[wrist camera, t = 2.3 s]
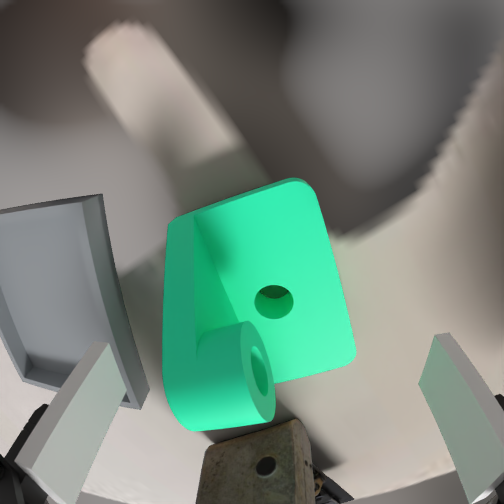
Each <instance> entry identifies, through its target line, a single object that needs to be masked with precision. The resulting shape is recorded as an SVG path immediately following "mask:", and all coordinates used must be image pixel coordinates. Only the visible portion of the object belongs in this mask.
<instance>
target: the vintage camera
mask: <svg viewBox="0 0 504 504" xmlns="http://www.w3.org/2000/svg"><path fill="white" fill-rule="evenodd" d="M351 500H354V498H353V497H352V496H351V495H349V494H348V493H347V492H346V491H345V490H344V489H342V488H341V487H340V486H339V485H338V484H337V483H335V482H334V481H333V480H332V479H330V478H329V477H327V476H326V475H325V474H324V473H323V472H322V471H321V470H320V469H318V468H317V467H316V466H315V465H314V464H312V459H311V445H310V442H309V439H308V436H307V433H306V430H305V427H304V426H303V424H302V423H301V422H300V421H299V420H298V419H294V420H291V421H288V422H285V423H282V424H279V425H276V426H273V427H270V428H267V429H264V430H261V431H258V432H254V433H251V434H248V435H244V436H241V437H238V438H234V439H231V440H228V441H224V442H220V443H217V444H213V445H210V446H209V447H208V448H207V450H206V451H205V455H204V460H203V464H202V469H201V475H200V482H199V487H198V492H197V498H196V504H341V503H344V502H348V501H351Z"/></svg>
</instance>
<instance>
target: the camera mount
mask: <svg viewBox="0 0 504 504" xmlns="http://www.w3.org/2000/svg"><path fill="white" fill-rule="evenodd" d="M269 285H279V286H282V287H284V288H286V289H287V290H289V292H288V293H287V294H286V295H285V296H283V297H280V298H276V299H273V298H268V297H265V296H264V295H262V294H261V293H260V291H259V290H261V289H262V288H264V287H266V286H269ZM355 356H356V347H355V342H354V337H353V333H352V328H351V324H350V319H349V315H348V311H347V307H346V302H345V298H344V294H343V290H342V286H341V282H340V278H339V274H338V271H337V267H336V263H335V259H334V256H333V252H332V248H331V245H330V241H329V237H328V234H327V230H326V227H325V223H324V220H323V217H322V213H321V210H320V207H319V203H318V200H317V197H316V194H315V192H314V191H313V189H312V188H311V187H310V185H309V184H308V183H307V182H306V181H304V180H302V179H299V178H287V179H284V180H281V181H278V182H275V183H272V184H269V185H266V186H263V187H260V188H257V189H254V190H251V191H248V192H245V193H242V194H239V195H236V196H234V197H231V198H228V199H225V200H222V201H219V202H217V203H214V204H211V205H208V206H205V207H203V208H200V209H197V210H195V211H192V212H189V213H186V214H184V215H181V216H179V217H176V218H175V219H174V220H173V221H171V222H170V223H169V224H168V230H167V243H166V257H165V274H164V295H163V327H162V376H163V385H164V390H165V394H166V398H167V401H168V403H169V406H170V408H171V410H172V412H173V414H174V416H175V417H176V419H177V420H178V421H179V422H180V424H181V425H183V426H184V427H185V428H186V429H188V430H190V431H205V430H215V429H224V428H232V427H239V426H246V425H253V424H259V423H265V422H270V421H272V420H273V418H274V415H275V408H276V397H275V386H274V384H276V383H281V382H285V381H289V380H294V379H298V378H302V377H306V376H310V375H314V374H318V373H321V372H325V371H329V370H332V369H336V368H339V367H343V366H345V365H347V364H349V363H350V362H352V360H353V359H354V358H355Z"/></svg>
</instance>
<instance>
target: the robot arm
mask: <svg viewBox="0 0 504 504" xmlns="http://www.w3.org/2000/svg"><path fill="white" fill-rule="evenodd" d="M419 386H420V388H421V390H422V392H423V394H424V396H425V398H426V401H427V403H428V405H429V407H430V409H431V411H432V413H433V416H434V418H435V420H436V422H437V424H438V427H439V429H440V431H441V434H442V436H443V438H444V440H445V443H446V445H447V448H448V450H449V452H450V455H451V457H452V460H453V462H454V465H455V467H456V470H457V472H458V475H459V477H460V480H461V483H462V485H463V488H464V491H465V493H466V496H467V499H468V502H469V504H472V503H475V502H477V501H479V500H481V499H483V498H486V497H487V496H488V495H489V494H490V493H491V492H492V491H493V490H494V489H495V490H496V492H497V495H495V496H494V497H493V498H492V499H491V500H490V501H489V502H488V503H487V504H504V396H502V395H501V394H498V395H495V396H494V395H493V394H492V392H491V390H490V389H489V387H488V386H487V384H486V383H485V381H484V380H483V378H482V377H481V376H480V374H479V373H478V371H477V370H476V368H475V367H474V365H473V364H472V363H471V361H470V360H469V358H468V357H467V355H466V354H465V353H464V351H463V350H462V349H461V347H460V346H459V344H458V343H457V342H456V340H455V339H454V338H453V336H452V335H451V334H450V332H449V333H443V334H437V335H434V339H433V342H432V345H431V349H430V352H429V355H428V358H427V361H426V364H425V367H424V370H423V373H422V376H421V378H420V381H419ZM126 391H127V389H126V387H125V384H124V382H123V379H122V377H121V374H120V372H119V369H118V366H117V364H116V361H115V358H114V356H113V353H112V350H111V347H110V344H109V343H106V342H96V341H94V342H93V343H92V345H91V346H90V347H89V349H88V350H87V352H86V353H85V354H84V356H83V357H82V358H81V360H80V361H79V363H78V364H77V365H76V367H75V368H74V370H73V371H72V373H71V374H70V375H69V377H68V378H67V380H66V381H65V383H64V384H63V385H62V387H61V388H60V390H59V391H58V393H57V394H56V396H55V397H54V399H53V400H52V402H51V403H50V405H47V404H43V405H42V406H41V407H39V408H38V409H37V410H35V411H34V413H33V414H32V416H31V417H30V419H29V420H28V423H26V425H25V426H24V428H23V429H24V430H22V431H21V433H20V434H19V436H18V437H17V439H16V440H15V442H14V444H13V445H12V447H11V448H10V450H9V452H8V453H7V455H6V456H5V457H4V458H3V457H2V455H1V454H0V504H49V503H48V501H47V500H46V498H47V496H48V495H49V496H50V497H51V498H52V499H53V500H54V501H56V502H57V503H60V504H75V503H76V500H77V498H78V496H79V494H80V491H81V489H82V486H83V484H84V482H85V480H86V477H87V475H88V473H89V470H90V468H91V466H92V464H93V461H94V459H95V457H96V455H97V452H98V450H99V448H100V446H101V444H102V441H103V439H104V437H105V435H106V433H107V431H108V429H109V426H110V424H111V422H112V420H113V418H114V416H115V414H116V412H117V410H118V407H119V405H120V403H121V401H122V399H123V397H124V395H125V393H126Z"/></svg>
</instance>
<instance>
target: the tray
mask: <svg viewBox="0 0 504 504" xmlns="http://www.w3.org/2000/svg"><path fill="white" fill-rule="evenodd" d="M0 337H1V339H2V341H3V344H4V346H5V348H6V350H7V352H8V354H9V356H10V358H11V360H12V362H13V364H14V366H15V368H16V370H17V372H18V374H19V376H20V378H21V379H22V381H23V382H26V383H29V384H32V385H35V386H38V387H42V388H45V389H48V390H52V391H55V392H58V391H59V390H60V388H61V387H62V385H63V384H64V383H65V381H66V380H67V378H68V377H69V375H70V374H71V373H72V371H73V370H74V368H75V367H76V365H77V364H78V363H79V361H80V360H81V358H82V357H83V356H84V354H85V353H86V352H87V350H88V349H89V347H90V346H91V345H92V343H93V342H94V341H96V342H106V343H109V344H110V347H111V350H112V353H113V356H114V358H115V361H116V364H117V366H118V369H119V372H120V374H121V377H122V379H123V382H124V384H125V387H126V389H127V391H126V393H125V395H124V397H123V399H122V401H121V403H120V405H119V406H121V407H127V408H133V409H139V410H141V408H142V406H143V403H144V401H145V399H146V397H147V395H148V392H149V390H150V388H149V386H148V383H147V380H146V377H145V374H144V371H143V368H142V365H141V362H140V358H139V355H138V352H137V349H136V345H135V342H134V339H133V335H132V332H131V328H130V325H129V321H128V317H127V314H126V310H125V306H124V302H123V298H122V294H121V290H120V285H119V281H118V277H117V272H116V268H115V263H114V258H113V254H112V248H111V243H110V237H109V232H108V227H107V220H106V214H105V208H104V201H103V194H96V195H88V196H81V197H74V198H67V199H60V200H54V201H48V202H41V203H35V204H30V205H24V206H18V207H13V208H7V209H2V210H0Z"/></svg>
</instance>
